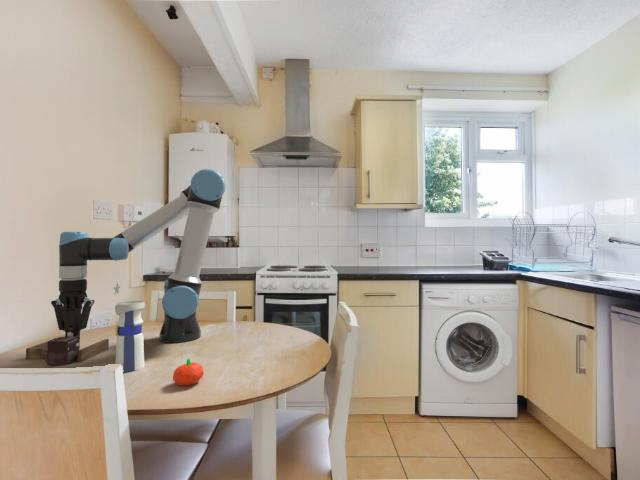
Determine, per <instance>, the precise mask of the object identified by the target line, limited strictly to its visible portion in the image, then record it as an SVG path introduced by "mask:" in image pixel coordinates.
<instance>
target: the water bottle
mask: <svg viewBox="0 0 640 480" xmlns="http://www.w3.org/2000/svg"><path fill="white" fill-rule="evenodd" d="M120 288H121V286H119V284H118V283H117V282H116V285H115V287H113V289H114V295H117V294H119V293H120V291H119V290H120ZM144 308H146V304H145V301H144V300H126V301H125V300H124V301H119V302H117V303H116V304H115V306H114V312H115V313H116V316H119V317H118V320H117V322H116V325H115V336H116V341H115V364H121V365H122V366H123V370H124V372H123V373H131V372H135V371H140V370H142V369H144V368H145V352H144V350H145V348H144V347H145V346H144V343H145V342H144V339H145V338H144V333H143V330H142V326H143V323H144V320H143V319H142V309H144Z"/></svg>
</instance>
